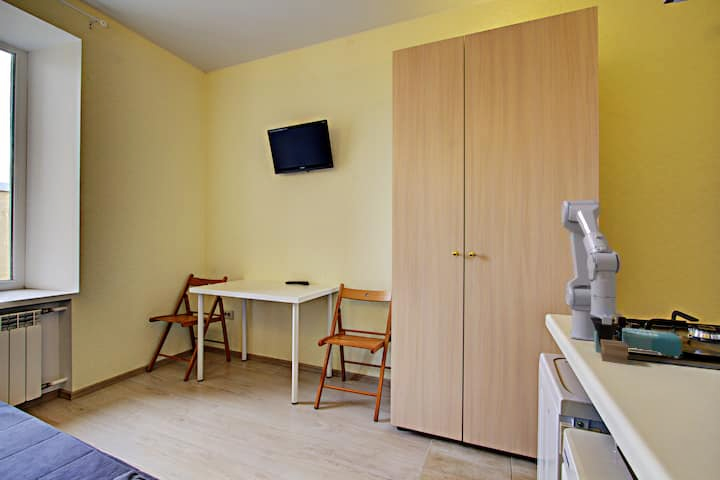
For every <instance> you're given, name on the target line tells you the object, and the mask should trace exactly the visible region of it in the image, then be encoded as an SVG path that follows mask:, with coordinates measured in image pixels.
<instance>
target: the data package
mask: <svg viewBox="0 0 720 480" xmlns="http://www.w3.org/2000/svg"><path fill="white" fill-rule="evenodd" d="M621 333H622V334H621V337H622V338H621V341H623V342H625V343H626V344H627V346H628V348H637V349H643V350H652V351H657V352H660V353H662V354H665V355H668V356H680V355H681V354H682V355H683V341H682V340H681V339H680V338H679V336H678V335H677V334H676V333H674V332H668V331H659V330H650V329H641V328H631V327H622V328H621Z"/></svg>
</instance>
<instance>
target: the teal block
mask: <svg viewBox="0 0 720 480" xmlns="http://www.w3.org/2000/svg"><path fill="white" fill-rule="evenodd" d="M612 340H613V341H615V334H614V335H613V338H612ZM593 343H594V351H595V353H600V354H601V347H600V345H599V340H598V335H597V331H594V342H593Z"/></svg>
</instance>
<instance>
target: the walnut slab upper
mask: <svg viewBox="0 0 720 480" xmlns="http://www.w3.org/2000/svg"><path fill="white" fill-rule="evenodd" d="M601 349H602V351H603V353H606V354H615V355H623V356H627V357H629V353H628V346H627V344H626V343H625V342H623V341H622V340H620V341H619V340H614V341H613V340H603V339H601Z"/></svg>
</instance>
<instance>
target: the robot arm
mask: <svg viewBox="0 0 720 480" xmlns="http://www.w3.org/2000/svg"><path fill="white" fill-rule="evenodd" d="M560 209H561V211H560V214H561V215H560V216H561V223H562V228H565V230H568V234H569V239H570V240H569V241H570V248H571V255H572V256H571V257H572V266H573V274H574V278H573V279H571V280H569V281H568V282H567V284H566V285H565V302H566V304H567V306H568V307H569V308H571V330H570V331H569V333H570V338H571V339H575V340H585V341H594V331H597V335H598V340H599V345H600V347H601V339H603V340H612V338H613V335H614V336H615V332H616V331H617V329H618V327H619V324H618V323H615V322H616V319H615V318H617V317H622V316H623V314H622V313H621V312H617V274H618V273H619V272H620V269H621V258H620V256H619V254H618V252H616V251H615V250H613V249H611V245H610V244H609V241H608V239H607V236H606V235H605V234H604V233H603V232H600V228H599V224H598V221H597V220H598V217H599V216H600V212H601V206H600V203H599V201H598V200H597V199H590V200H589V199H588V200H584V199H583V200H564V201H563V202H562V204H561V208H560Z"/></svg>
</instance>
